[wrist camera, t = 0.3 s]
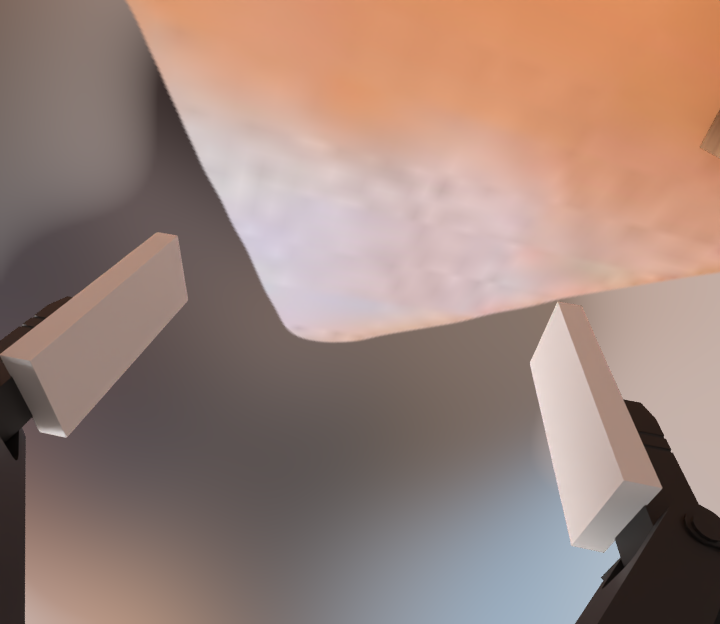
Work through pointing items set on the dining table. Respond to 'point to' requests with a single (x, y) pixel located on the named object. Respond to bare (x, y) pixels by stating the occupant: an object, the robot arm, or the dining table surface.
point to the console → (713, 138)
